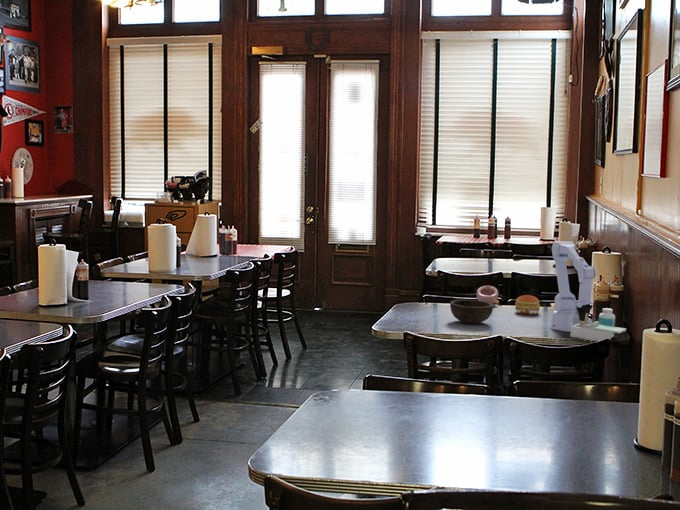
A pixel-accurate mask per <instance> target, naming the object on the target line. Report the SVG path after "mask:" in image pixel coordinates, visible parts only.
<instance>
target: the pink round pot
mask: <svg viewBox="0 0 680 510" xmlns="http://www.w3.org/2000/svg"><path fill="white" fill-rule="evenodd" d="M498 297H499V291H498V289H497V288H496V287H495V286H491V285H488V284H487V285H483V286H480V287H479V288H478V289H477V290H476V298H477V300H478V301H485V302H489V303H492V304H493V305H494V303H496V301H497V300H498Z"/></svg>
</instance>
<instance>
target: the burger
mask: <svg viewBox="0 0 680 510" xmlns="http://www.w3.org/2000/svg"><path fill="white" fill-rule="evenodd" d="M514 304H515V307H514V309H515V311H516V313H518V314H521V315H522V314H523V315H537V314H538V313H539V311H540V308H541V304H540V300H539V299H538V298H537V297H536V296H533V295H531V294H524V295H520V296H518V297H517V298H516V299H515V303H514Z"/></svg>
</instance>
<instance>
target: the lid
mask: <svg viewBox="0 0 680 510" xmlns="http://www.w3.org/2000/svg"><path fill="white" fill-rule="evenodd" d="M590 325H591V327H590V329H595V330H601V331H607V332H614V334H621V333H623V332H626V331H627V328H626V327H625V328H624V327H618V326H615V327H612V326H606V325H599V320H597V321H593V322H591V323H590Z"/></svg>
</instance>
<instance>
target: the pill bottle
mask: <svg viewBox="0 0 680 510" xmlns="http://www.w3.org/2000/svg"><path fill="white" fill-rule="evenodd" d="M613 310H614V309H612V308H610V307H609V308H608V307H605V308H602V310H601V311H602V312H600V313H599V315H598V322H599V325H606V326H612V327H616V326H615V323H616V315H615V314H614V313H613ZM614 335H615V333H614V332H611V339H612V338H613V337H615V336H614Z"/></svg>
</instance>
